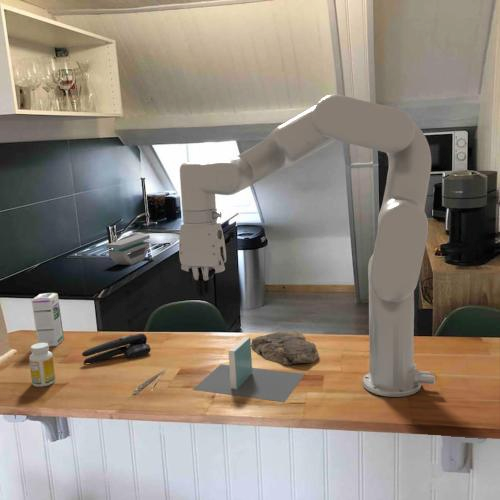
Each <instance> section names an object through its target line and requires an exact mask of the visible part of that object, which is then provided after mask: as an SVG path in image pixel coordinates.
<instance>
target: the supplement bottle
mask: <svg viewBox="0 0 500 500" xmlns="http://www.w3.org/2000/svg"><path fill="white" fill-rule="evenodd" d="M49 350H50V346H48V343H38V342H37V343H35V344H32V345H31V346H30V352H31V354H30V355H29V357H28V361H29V368H30V376H31V381H32V382H31V383H32V384H31V385H33V386H34V387H36V388H43V387H47V386H50V385H53V384H54V383H55V381H56V373H55V364H54V357H53V353H52V352H51V351H49Z"/></svg>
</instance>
